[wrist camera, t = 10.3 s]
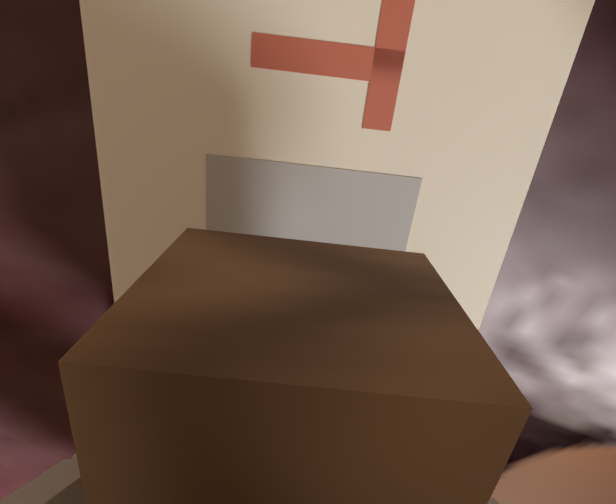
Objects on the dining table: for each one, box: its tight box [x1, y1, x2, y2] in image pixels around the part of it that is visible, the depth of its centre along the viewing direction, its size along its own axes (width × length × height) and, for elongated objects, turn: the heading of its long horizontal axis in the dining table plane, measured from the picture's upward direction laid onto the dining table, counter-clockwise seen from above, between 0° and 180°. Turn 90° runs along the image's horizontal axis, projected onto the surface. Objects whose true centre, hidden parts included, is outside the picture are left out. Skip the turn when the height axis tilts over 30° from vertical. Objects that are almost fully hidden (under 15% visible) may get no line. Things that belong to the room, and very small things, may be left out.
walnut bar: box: [58, 228, 532, 504], centre depth 9 cm, size 6×10×5 cm, turn 174°
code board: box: [79, 0, 595, 330], centre depth 14 cm, size 16×24×1 cm, turn 174°
